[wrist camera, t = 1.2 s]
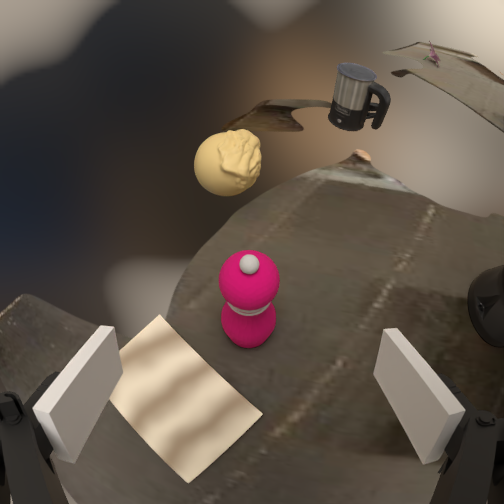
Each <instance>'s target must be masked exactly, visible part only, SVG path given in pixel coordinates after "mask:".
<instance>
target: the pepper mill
mask: <svg viewBox="0 0 504 504" xmlns="http://www.w3.org/2000/svg"><path fill="white" fill-rule="evenodd" d="M279 282H280V280H279V272H278V269H277V267H276V265H275V264H274V262H273V261H272V260H271V259H270V258H269V257H268V256H266V255H265V254H263V253H261V252H258V251H254V250H244V251H240V252H237V253H235V254H233V255H232V256H231V257H229V258H228V259H227V260H226V261H225V263H224V264H223V266H222V268H221V270H220V274H219V287H220V290H221V293H222V295H223V297H224V298H225V300H226V303H225V305H224V306H223V309H222V313H221V322H222V326H223V329H224V331H225V332H226V334H227V335H228V336H229V337H230V339H231V340H232V341H233V342H234V343H235V344H237V345H238V346H240V347H244V348H253V347H257V346H259V345H261V344H262V343H263V342H265V340H266V339H267V338H268V337H269V336H270V334H271V333H272V332H273V330H274V327H275V324H276V312H275V308H274V306H273V304H272V302H271V301H272V300H273V299H274V297H275V295H276V294H277V292H278V288H279Z"/></svg>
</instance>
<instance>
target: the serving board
mask: <svg viewBox="0 0 504 504" xmlns="http://www.w3.org/2000/svg"><path fill="white" fill-rule="evenodd" d="M119 354H120V359H121V364H122V368H123V374H122V376H121V378H120V380H119V381H118V383H117V385H116V387H115V388H114V390H113V392H112V394H111V396H110V397H109V399H110V401H111V402H112V403H113V404H114V406H115V407H116V408H117V409H118V411H119V412H120V413H121V414H122V415H123V417H124V418H125V419H126V420H127V421H128V422H129V424H130V425H131V426H132V427H133V428H134V429H135V430H136V431H137V433H138V434H139V435H140V436H141V437H142V438H143V439H144V440H145V441H146V442H147V444H148V445H149V446H150V447H151V448H152V449H153V450H154V451H155V452H156V453H157V454H158V455H159V456H160V457H161V458H162V459H163V460H164V461H165V462H166V463H167V464H168V465H169V466H170V467H171V468H172V469H173V470H174V471H175V472H176V473H177V474H178V475H179V476H181V477H182V478H183V479H184V480H185V481H186V482H187V483H190V482H191V481H192V480H193V479H194V478H195V477H197V476H198V475H199V474H200V473H201V472H202V471H204V470H205V469H206V468H207V467H208V466H209V465H210V464H211V463H213V462H214V461H215V460H216V459H217V458H218V457H219V456H220V455H221V454H222V453H224V452H225V451H226V450H227V449H228V448H229V447H230V446H231V445H232V444H233V443H234V442H235V441H236V440H237V439H238V438H239V437H240V436H242V435H243V434H244V433H245V432H246V431H247V430H248V429H249V428H250V427H251V426H252V425H253V424H254V423H255V422H256V421H257V420H258V419H259V418H260V417H261V416H262V415H263V414H262V413H261V412H260V411H259V410H258V409H257V408H255V407H254V406H253V405H252V404H251V403H250V402H249V401H247V400H246V399H245V398H244V397H243V396H242V395H241V394H240V393H238V392H237V391H236V390H235V389H234V388H233V387H232V386H231V385H230V384H229V383H228V382H226V381H225V380H224V379H223V378H222V377H221V376H220V375H219V374H218V373H217V372H216V371H215V370H214V369H213V368H212V367H211V366H210V365H209V364H207V363H206V362H205V361H204V360H203V359H202V358H201V357H200V356H199V355H198V354H197V353H196V352H195V351H194V350H193V349H192V348H191V347H190V346H189V345H188V344H187V343H186V342H185V341H184V340H183V339H182V338H181V337H180V336H179V335H178V333H177V332H176V331H175V330H174V329H173V328H172V327H171V326H170V325H169V324H168V323H167V322H166V321H165V320H164V319H163V318H162V317H161V316H160V315H158V316H157V317H156V318H155V319H154V320H153V321H152V322H151V323H150V324H149V325H147V326H146V327H145V328H144V329H143V330H142V331H141V332H140V333H139V334H138V335H137V336H136V337H134V338H133V339H132V340H131V341H130V342H129V343H128V344H127V345H126V346H124V347H123V348H122V349H121V350H120V351H119Z"/></svg>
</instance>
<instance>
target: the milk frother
mask: <svg viewBox="0 0 504 504" xmlns="http://www.w3.org/2000/svg"><path fill="white" fill-rule="evenodd" d="M337 69H338V73H337V79H336V84H335V90H334V96H333V101H332V105H331V110H330V113H329V115H328V119H329V121H330V122H331V123H332V124H333V125H335V126H336V127H338V128H340V129H343V130H347V131H358V130H360V129H362V128H363V126H364V122H365V120H366V119H370V118H374V119H373V122H372V125H371V126H372V128H373V129H378V128H379V127H380V126H381V124H382V122H383V120H384V117H385V115H386V113H387V110H388V108H389V105H390V100H391V99H390V95H389V93H388V91H387V90H386V89H385V88H384V87H383V86H381V85H379V84H377V83H375V82H374V80H375V79H376V78H377V76H376V74H375V73H374V72H373V71H372V70H370V69H368V68H366V67H364V66H361V65H358V64H353V63H342V64H338V66H337ZM372 94H375V95H377V96H378V98H379V100H380V103H379V104H377V103H370V102H371V98H372ZM368 111H376V113H369V112H368Z"/></svg>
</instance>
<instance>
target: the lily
mask: <svg viewBox="0 0 504 504" xmlns="http://www.w3.org/2000/svg"><path fill="white" fill-rule="evenodd" d="M429 42H430V41H429ZM430 44H431V42H430ZM431 48H432V50H431V49H430V51H431V52H430V55H429V56H431V57H432V58H434V59H435V61H436V63H437V64H438V61H440V59H439V57H438V55H437V54H436V53H435V51H434V48H433V47H432V44H431ZM429 56H427V57H429ZM427 57H426V58H427ZM424 59H425V58H424ZM424 59H423V60H424ZM438 66H439V64H438Z"/></svg>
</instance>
